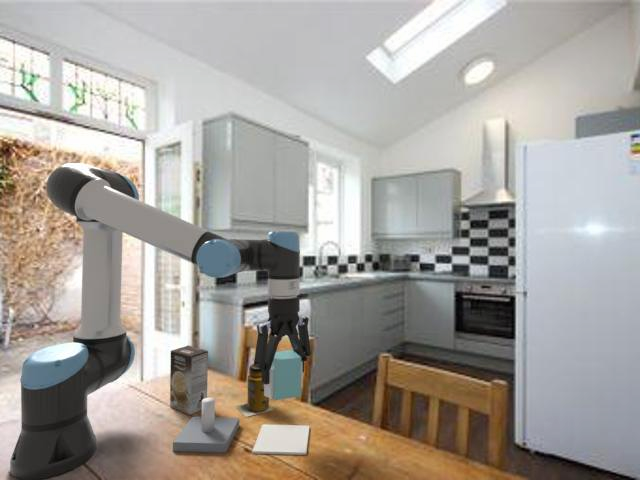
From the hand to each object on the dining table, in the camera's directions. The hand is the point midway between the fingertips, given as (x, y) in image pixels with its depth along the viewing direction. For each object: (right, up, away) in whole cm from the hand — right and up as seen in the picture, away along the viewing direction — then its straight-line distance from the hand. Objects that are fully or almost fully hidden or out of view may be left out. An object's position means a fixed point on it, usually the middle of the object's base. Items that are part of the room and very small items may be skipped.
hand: (283, 391), depth 89 cm
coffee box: (-29, -11, +17) cm, 35 cm away
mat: (0, -11, 0) cm, 11 cm away
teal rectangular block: (0, 0, 0) cm, 0 cm away
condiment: (-10, -12, +16) cm, 22 cm away
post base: (-18, -11, +1) cm, 21 cm away
